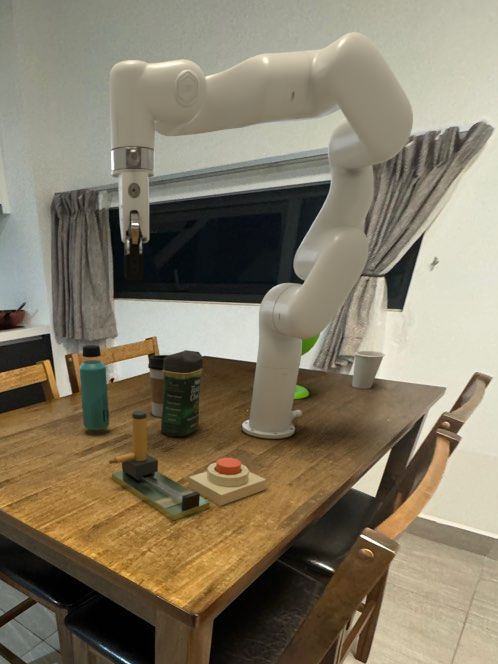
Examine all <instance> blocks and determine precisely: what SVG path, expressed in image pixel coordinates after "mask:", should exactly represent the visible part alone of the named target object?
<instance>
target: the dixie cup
mask: <svg viewBox="0 0 498 664" xmlns="http://www.w3.org/2000/svg"><path fill="white" fill-rule="evenodd" d="M384 357H385V353H383V352H381V351H375V350H359V351H356V352H355V353H354V366H353V374H352V383H351V387H352V388H356V389H362V390H363V389H367V390H368V389H371V388H372V386H373V383H374V382H375V379H376V376H377V373H378V371H379V368H380V366H381V365H382V361H383V358H384Z"/></svg>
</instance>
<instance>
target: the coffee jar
mask: <svg viewBox="0 0 498 664" xmlns="http://www.w3.org/2000/svg"><path fill="white" fill-rule="evenodd" d="M167 355H168V356H167V357H165V358H164V364H163V375H164V395H163V409H162V417H161V419H160V420H161V421H160V431H161V432H162V433H164V434H166V435H167V436H170V437H186V436H189V435H191V434H193V433H195V432H196V431H197V430H198V429H199V425H200V423H199V421H200V393H201V392H200V390H201V389H200V388H201V379H202V374H203V369H204V368H203V365H204V362H203V361H204V357H203V355H202V354H201V352H199V351H197V350H196V351H195V350H188V349H185V350H183V351H179V352H176V353H171V354H167Z"/></svg>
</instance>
